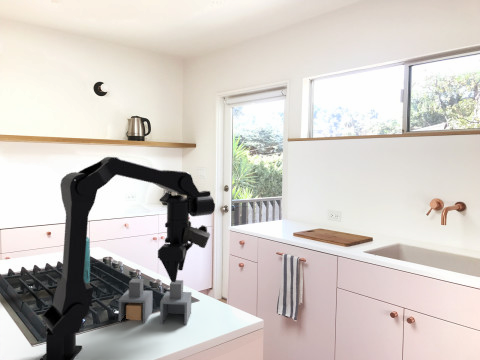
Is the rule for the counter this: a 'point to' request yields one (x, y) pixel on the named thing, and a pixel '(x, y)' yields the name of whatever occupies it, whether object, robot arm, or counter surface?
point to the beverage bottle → (87, 262)
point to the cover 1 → (136, 299)
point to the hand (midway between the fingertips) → (177, 275)
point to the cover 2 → (176, 302)
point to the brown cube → (134, 311)
